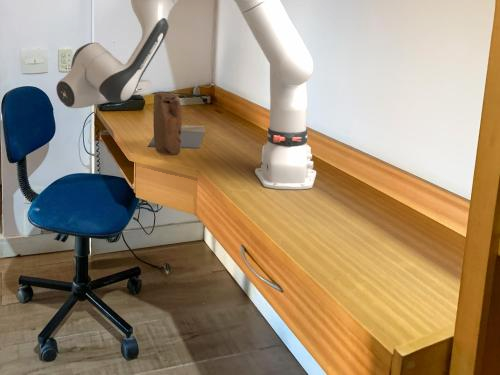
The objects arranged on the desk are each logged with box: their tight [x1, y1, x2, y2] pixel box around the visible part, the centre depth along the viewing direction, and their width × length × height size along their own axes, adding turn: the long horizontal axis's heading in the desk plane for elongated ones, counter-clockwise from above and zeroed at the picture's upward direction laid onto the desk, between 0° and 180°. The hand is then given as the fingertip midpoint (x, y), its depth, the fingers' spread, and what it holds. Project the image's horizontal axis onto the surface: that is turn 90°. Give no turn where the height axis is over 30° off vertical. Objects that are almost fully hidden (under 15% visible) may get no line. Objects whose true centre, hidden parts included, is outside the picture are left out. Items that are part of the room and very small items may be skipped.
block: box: [153, 92, 183, 156], centre depth 203 cm, size 11×8×20 cm
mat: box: [147, 131, 205, 149], centre depth 222 cm, size 24×18×1 cm
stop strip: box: [181, 124, 206, 133], centre depth 235 cm, size 2×18×2 cm, turn 90°
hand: (135, 81), depth 184 cm, fingers open, 5 cm apart
